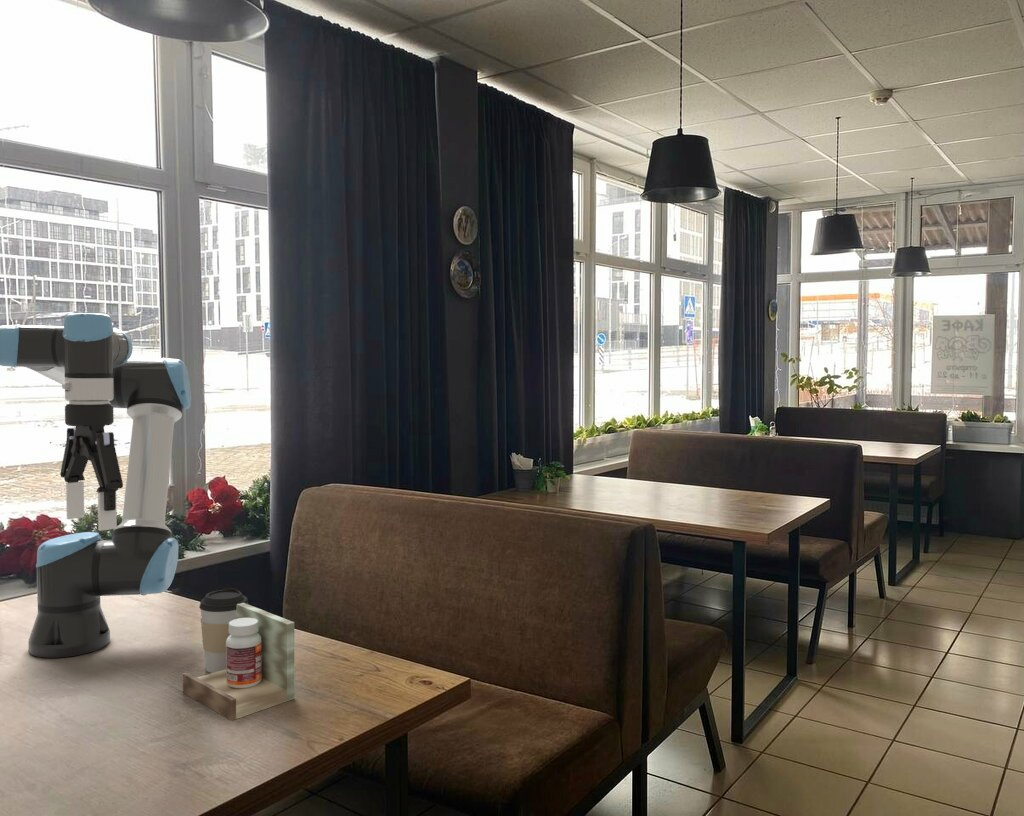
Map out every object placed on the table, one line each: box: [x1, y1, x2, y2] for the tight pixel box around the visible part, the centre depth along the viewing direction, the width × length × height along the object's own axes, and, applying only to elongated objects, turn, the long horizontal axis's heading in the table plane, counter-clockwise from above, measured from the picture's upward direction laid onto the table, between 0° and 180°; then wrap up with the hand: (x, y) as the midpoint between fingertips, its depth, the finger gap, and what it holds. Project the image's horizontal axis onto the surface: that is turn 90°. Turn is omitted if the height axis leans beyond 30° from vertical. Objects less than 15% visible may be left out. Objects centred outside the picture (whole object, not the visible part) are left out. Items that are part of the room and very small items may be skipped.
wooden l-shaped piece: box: [182, 603, 295, 721], centre depth 149 cm, size 17×12×14 cm
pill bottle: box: [226, 618, 262, 688], centre depth 150 cm, size 6×6×11 cm
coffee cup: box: [199, 587, 249, 674], centre depth 162 cm, size 9×9×15 cm
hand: (91, 523), depth 144 cm, fingers open, 13 cm apart
